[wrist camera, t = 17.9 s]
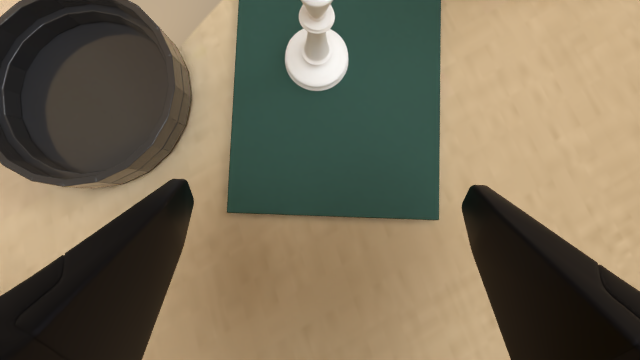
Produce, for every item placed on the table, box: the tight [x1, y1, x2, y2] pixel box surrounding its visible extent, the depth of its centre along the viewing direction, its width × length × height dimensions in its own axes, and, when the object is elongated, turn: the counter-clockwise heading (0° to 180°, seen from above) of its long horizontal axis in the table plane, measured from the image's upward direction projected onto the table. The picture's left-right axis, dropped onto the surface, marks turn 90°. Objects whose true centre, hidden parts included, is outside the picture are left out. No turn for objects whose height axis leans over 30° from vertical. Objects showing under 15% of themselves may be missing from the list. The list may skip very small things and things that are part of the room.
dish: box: [0, 0, 191, 188], centre depth 22 cm, size 14×14×3 cm
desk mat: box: [227, 0, 441, 220], centre depth 23 cm, size 20×16×1 cm
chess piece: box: [285, 0, 348, 91], centre depth 18 cm, size 5×5×10 cm
